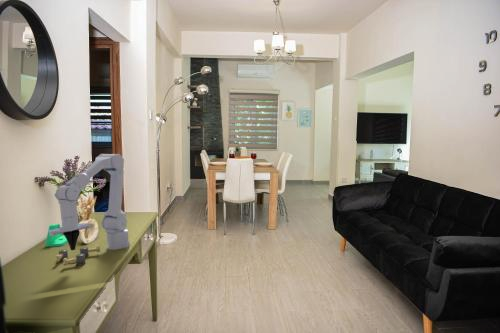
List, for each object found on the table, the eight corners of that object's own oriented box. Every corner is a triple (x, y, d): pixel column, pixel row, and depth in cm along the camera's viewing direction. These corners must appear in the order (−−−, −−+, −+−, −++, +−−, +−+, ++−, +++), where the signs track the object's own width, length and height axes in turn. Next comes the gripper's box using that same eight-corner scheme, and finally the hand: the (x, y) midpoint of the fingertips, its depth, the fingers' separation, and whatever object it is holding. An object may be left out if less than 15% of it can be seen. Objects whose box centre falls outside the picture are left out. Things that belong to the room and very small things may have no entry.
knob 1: (61, 257, 144) (60, 249, 143) (69, 256, 144) (68, 248, 144) (53, 265, 136) (52, 256, 136) (61, 264, 137) (61, 256, 136)
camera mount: (62, 249, 158) (60, 227, 157) (46, 249, 158) (43, 228, 156) (74, 240, 170) (73, 220, 169) (59, 240, 170) (57, 220, 168)
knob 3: (80, 258, 143) (79, 250, 142) (81, 255, 146) (80, 247, 145) (100, 255, 145) (99, 247, 145) (100, 252, 148) (99, 244, 148)
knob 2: (84, 261, 139) (83, 252, 139) (86, 263, 137) (85, 255, 136) (63, 266, 135) (62, 258, 134) (64, 269, 132) (63, 260, 132)
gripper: (86, 210, 139) (89, 242, 141) (46, 217, 130) (50, 251, 132) (91, 213, 133) (94, 246, 135) (49, 221, 124) (53, 256, 126)
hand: (72, 249), depth 133 cm, fingers closed
